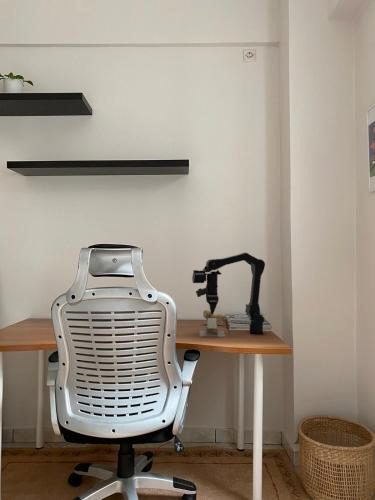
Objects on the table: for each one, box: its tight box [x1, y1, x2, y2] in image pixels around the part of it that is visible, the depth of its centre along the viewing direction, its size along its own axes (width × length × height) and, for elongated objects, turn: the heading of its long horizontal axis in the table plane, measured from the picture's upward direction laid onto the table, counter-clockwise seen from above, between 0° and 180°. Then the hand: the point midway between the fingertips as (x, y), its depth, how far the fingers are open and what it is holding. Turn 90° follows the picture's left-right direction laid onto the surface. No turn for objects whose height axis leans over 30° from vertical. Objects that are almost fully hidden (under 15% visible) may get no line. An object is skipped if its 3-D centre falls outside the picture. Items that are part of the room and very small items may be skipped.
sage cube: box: [207, 318, 218, 329], centre depth 201 cm, size 4×4×4 cm
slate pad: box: [199, 330, 226, 337], centre depth 201 cm, size 13×14×1 cm
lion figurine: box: [202, 309, 228, 327], centre depth 228 cm, size 15×5×9 cm, turn 84°
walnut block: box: [205, 326, 219, 335], centre depth 201 cm, size 6×6×3 cm
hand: (211, 312), depth 201 cm, fingers open, 9 cm apart
